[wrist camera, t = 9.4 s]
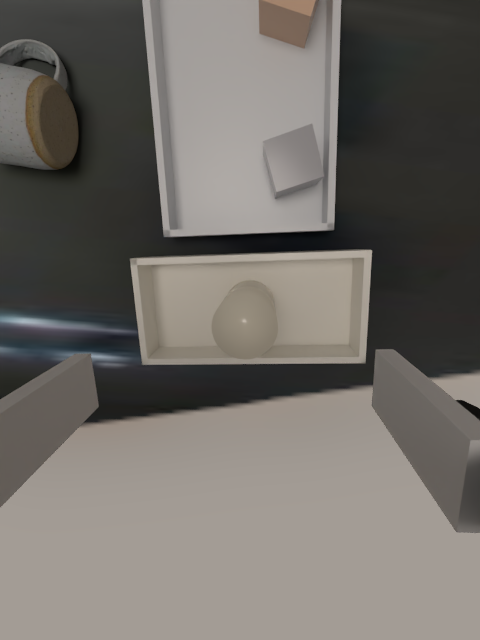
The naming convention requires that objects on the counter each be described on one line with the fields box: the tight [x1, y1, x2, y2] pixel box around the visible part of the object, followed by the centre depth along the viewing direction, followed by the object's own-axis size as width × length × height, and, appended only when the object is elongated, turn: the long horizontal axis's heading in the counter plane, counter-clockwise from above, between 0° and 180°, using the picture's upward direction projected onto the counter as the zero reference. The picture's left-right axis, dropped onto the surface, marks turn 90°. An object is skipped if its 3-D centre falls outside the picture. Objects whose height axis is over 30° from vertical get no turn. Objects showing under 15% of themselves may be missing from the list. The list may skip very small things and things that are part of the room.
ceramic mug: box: [0, 39, 79, 170], centre depth 27 cm, size 11×8×8 cm
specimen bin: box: [130, 249, 372, 365], centre depth 31 cm, size 21×10×4 cm, turn 92°
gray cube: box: [263, 124, 324, 198], centre depth 28 cm, size 4×4×4 cm
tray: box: [142, 0, 341, 237], centre depth 27 cm, size 15×23×3 cm, turn 2°
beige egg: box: [212, 280, 278, 359], centre depth 28 cm, size 5×5×9 cm
